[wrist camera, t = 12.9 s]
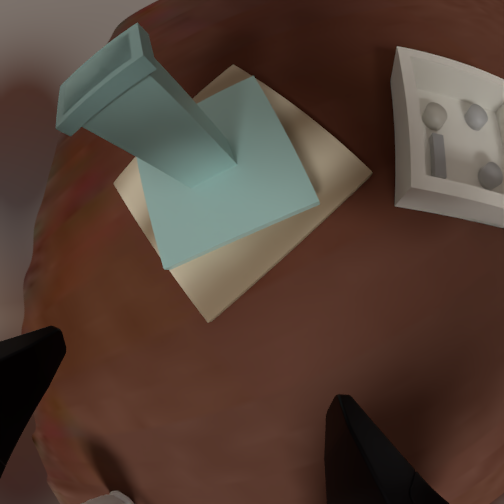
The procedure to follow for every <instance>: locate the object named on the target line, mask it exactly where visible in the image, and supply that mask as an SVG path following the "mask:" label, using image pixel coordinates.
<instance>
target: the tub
mask: <svg viewBox="0 0 504 504" xmlns="http://www.w3.org/2000/svg"><path fill="white" fill-rule="evenodd" d="M390 84H391V93H392V103H393V115H394V131H395V205H394V206H396V207H402V208H408V209H414V210H419V211H425V212H430V213H436V214H441V215H446V216H451V217H456V218H460V219H465V220H470V221H474V222H479V223H483V224H487V225H492V226H496V227H500V228H504V79H501V78H499V77H497V76H495V75H492V74H490V73H488V72H485V71H483V70H480V69H477V68H475V67H472V66H469V65H466V64H463V63H461V62H457V61H454V60H451V59H448V58H445V57H441V56H438V55H434V54H430V53H426V52H422V51H418V50H413V49H409V48H404V47H399V46H397V48H396V53H395V59H394V64H393V69H392V74H391V79H390Z"/></svg>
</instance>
